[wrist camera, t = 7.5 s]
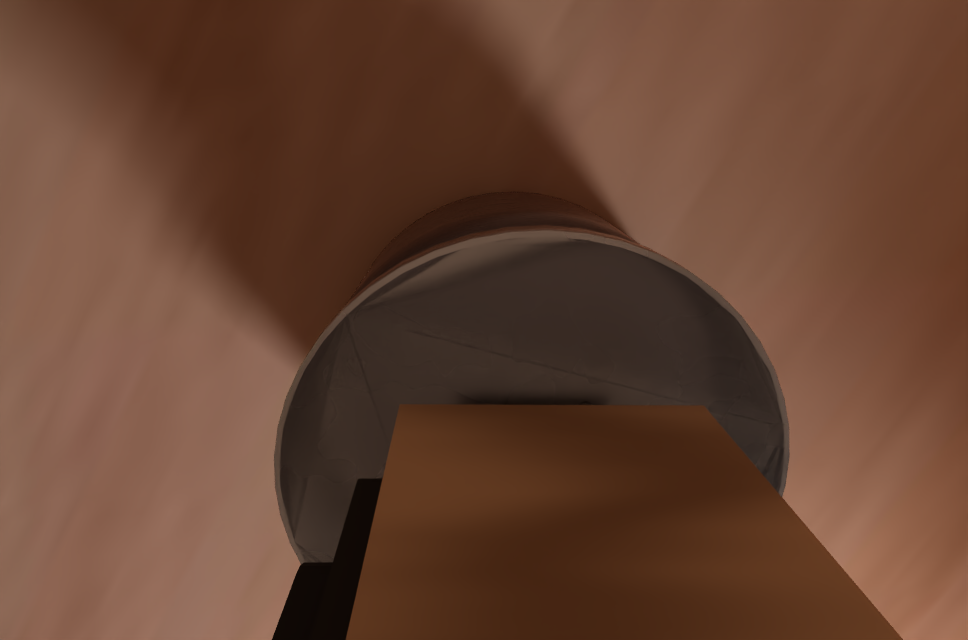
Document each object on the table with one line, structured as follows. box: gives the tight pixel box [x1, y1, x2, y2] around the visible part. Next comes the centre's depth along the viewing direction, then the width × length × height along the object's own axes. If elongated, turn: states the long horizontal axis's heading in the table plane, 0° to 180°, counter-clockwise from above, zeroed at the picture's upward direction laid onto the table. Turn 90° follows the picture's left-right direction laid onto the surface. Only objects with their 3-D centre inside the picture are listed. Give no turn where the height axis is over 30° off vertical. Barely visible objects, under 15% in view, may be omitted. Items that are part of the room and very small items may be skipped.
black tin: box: [274, 192, 789, 564], centre depth 15 cm, size 10×10×7 cm
